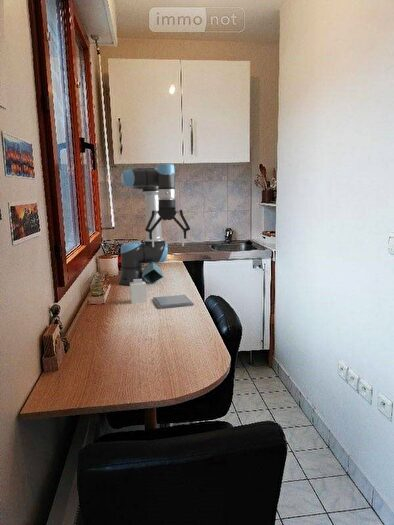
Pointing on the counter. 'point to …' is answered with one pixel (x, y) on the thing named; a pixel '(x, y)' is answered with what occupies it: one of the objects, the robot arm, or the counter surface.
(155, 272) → the teal faceted dome
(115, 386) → the counter surface
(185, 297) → the plate
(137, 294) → the plug
